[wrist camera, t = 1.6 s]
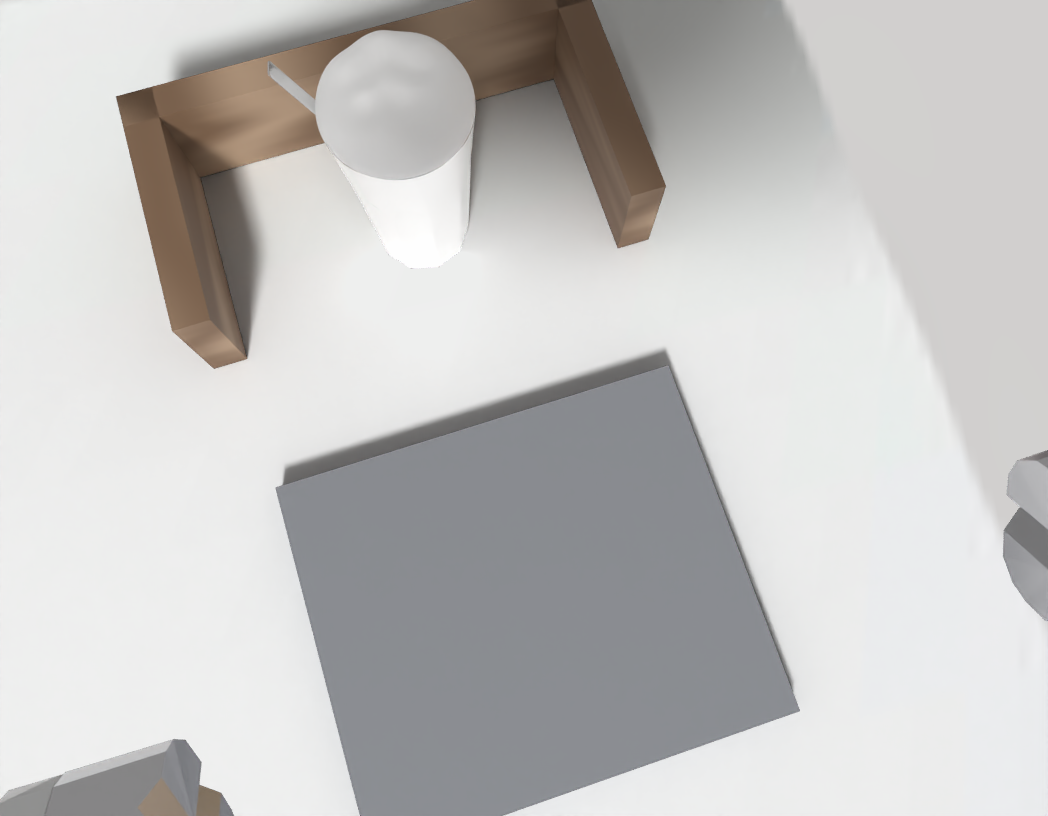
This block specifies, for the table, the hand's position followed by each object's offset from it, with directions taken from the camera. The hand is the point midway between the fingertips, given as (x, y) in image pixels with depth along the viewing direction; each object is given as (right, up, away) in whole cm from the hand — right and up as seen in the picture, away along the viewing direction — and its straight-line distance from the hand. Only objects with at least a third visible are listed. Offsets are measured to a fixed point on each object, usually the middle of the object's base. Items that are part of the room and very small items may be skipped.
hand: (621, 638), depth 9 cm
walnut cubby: (-5, +10, +25) cm, 27 cm away
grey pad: (-1, -4, +21) cm, 22 cm away
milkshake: (-5, +9, +25) cm, 27 cm away
